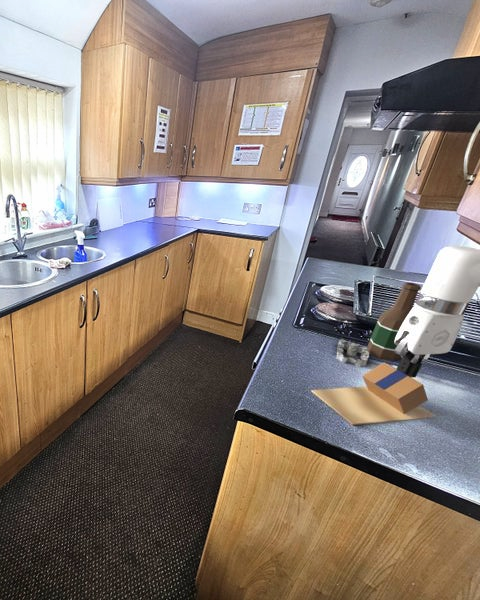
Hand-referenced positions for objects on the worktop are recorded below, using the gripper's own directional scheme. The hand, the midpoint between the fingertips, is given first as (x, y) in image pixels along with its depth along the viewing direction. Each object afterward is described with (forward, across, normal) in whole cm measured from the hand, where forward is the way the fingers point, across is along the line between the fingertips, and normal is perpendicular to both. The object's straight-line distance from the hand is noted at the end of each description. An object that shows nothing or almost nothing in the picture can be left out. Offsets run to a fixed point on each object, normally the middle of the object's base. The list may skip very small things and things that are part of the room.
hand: (405, 374), depth 78 cm
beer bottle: (+8, +18, +19) cm, 27 cm away
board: (+8, -6, 0) cm, 10 cm away
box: (+6, 0, 0) cm, 6 cm away
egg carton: (+8, +7, +19) cm, 22 cm away
